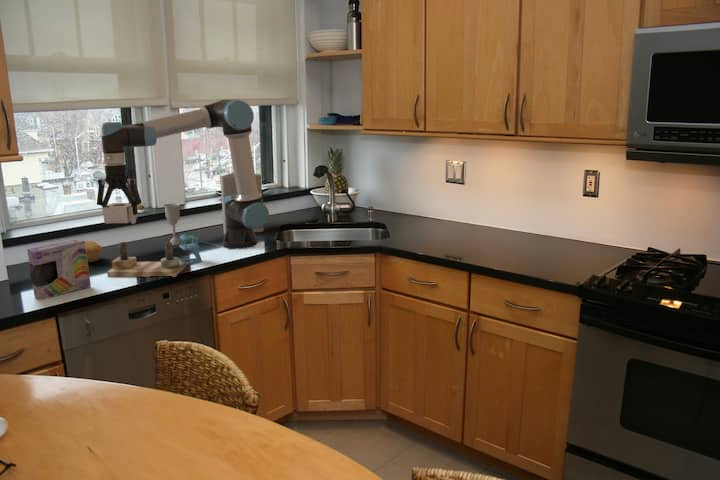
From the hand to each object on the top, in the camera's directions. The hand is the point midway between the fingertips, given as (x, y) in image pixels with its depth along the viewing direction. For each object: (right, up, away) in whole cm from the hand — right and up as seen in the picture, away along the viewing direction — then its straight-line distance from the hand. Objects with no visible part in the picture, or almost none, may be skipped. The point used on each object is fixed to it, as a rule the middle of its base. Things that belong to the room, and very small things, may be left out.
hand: (121, 222), depth 240 cm
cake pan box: (-13, -25, -20) cm, 35 cm away
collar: (0, +1, 0) cm, 1 cm away
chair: (+22, -16, +17) cm, 32 cm away
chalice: (+6, -8, +48) cm, 49 cm away
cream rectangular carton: (+32, -2, +73) cm, 80 cm away
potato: (-20, -16, +19) cm, 32 cm away
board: (+9, -19, +4) cm, 21 cm away
